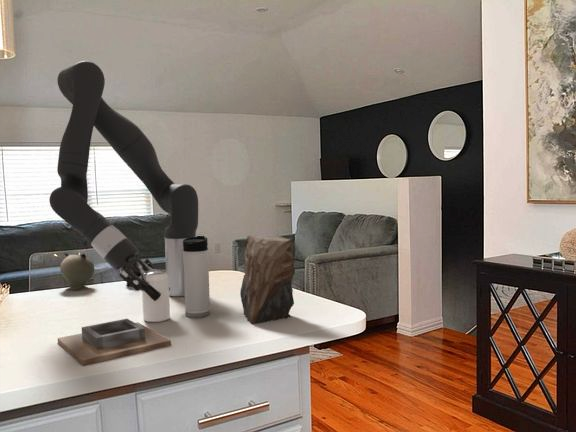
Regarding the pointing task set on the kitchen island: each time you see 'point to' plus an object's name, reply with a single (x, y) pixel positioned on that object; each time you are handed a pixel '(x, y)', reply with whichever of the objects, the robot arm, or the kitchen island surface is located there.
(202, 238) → the travel mug
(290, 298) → the brown rock
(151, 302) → the can
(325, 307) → the kitchen island surface
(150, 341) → the mount
